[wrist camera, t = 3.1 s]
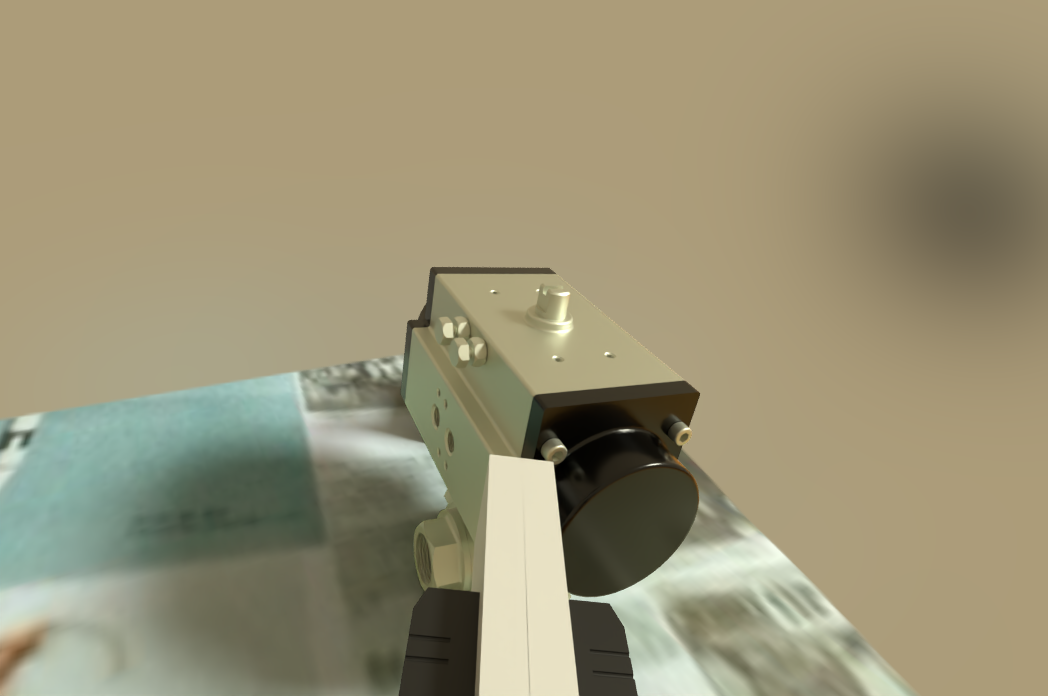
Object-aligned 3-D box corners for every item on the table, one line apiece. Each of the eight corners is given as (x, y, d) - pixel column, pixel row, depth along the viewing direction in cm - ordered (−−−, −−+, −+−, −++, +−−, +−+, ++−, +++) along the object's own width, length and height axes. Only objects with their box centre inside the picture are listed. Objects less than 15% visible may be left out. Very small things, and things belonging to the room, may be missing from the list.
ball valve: (375, 484, 41) (397, 221, 33) (494, 467, 45) (539, 226, 37) (471, 753, 27) (549, 404, 19) (633, 694, 31) (753, 383, 23)
